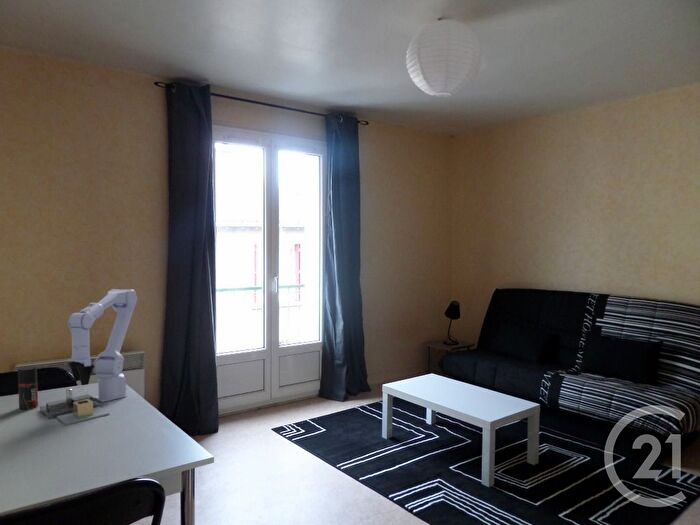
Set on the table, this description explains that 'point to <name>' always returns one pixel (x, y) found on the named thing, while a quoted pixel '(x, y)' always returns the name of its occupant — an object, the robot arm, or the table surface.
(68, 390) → the vise
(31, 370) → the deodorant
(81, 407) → the collar
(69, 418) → the mat
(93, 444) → the table surface
